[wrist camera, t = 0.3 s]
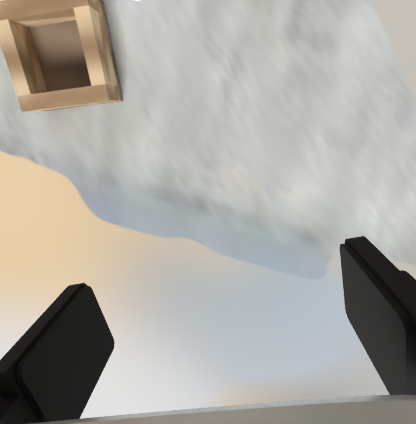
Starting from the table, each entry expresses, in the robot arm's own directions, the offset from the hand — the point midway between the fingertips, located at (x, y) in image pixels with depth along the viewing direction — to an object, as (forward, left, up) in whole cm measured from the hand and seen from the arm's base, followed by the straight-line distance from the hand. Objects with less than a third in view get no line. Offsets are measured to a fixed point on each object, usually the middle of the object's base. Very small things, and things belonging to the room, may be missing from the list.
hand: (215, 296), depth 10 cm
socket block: (-14, -18, -30) cm, 38 cm away
